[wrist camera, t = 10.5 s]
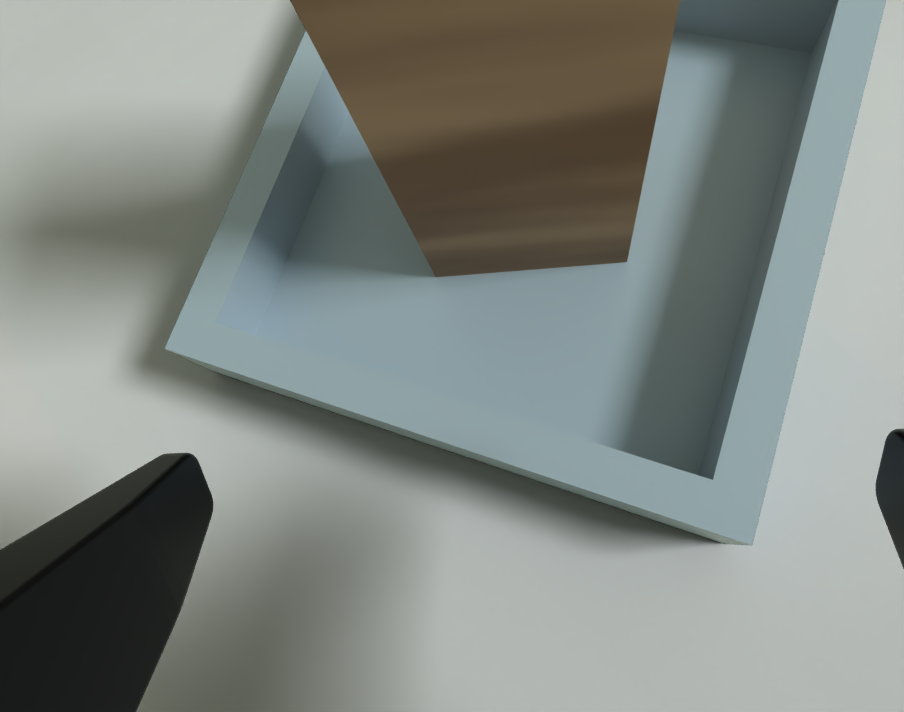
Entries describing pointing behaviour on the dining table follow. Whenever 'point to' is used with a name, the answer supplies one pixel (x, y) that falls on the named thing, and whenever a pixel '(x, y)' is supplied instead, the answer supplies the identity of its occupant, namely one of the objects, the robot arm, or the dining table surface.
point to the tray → (564, 280)
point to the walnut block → (503, 119)
